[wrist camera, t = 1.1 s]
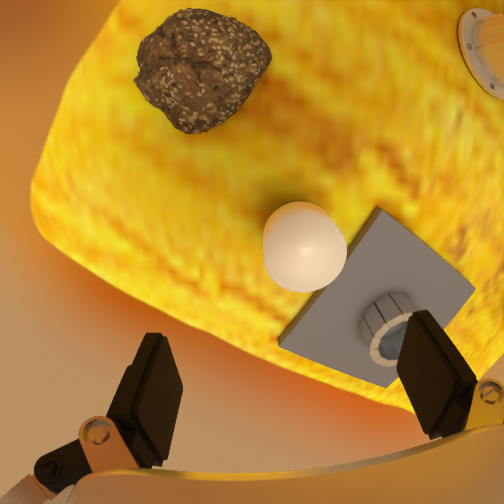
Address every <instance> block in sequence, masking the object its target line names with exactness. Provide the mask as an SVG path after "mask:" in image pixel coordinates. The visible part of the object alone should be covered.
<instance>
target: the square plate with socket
mask: <svg viewBox="0 0 504 504" xmlns="http://www.w3.org/2000/svg"><path fill="white" fill-rule="evenodd" d="M475 289H476V288H475V287H473V286H472V285H471V284H470V283H469V282H468V281H467V280H466V279H465V278H464V277H463V276H462V275H461V274H459V273H458V272H457V271H456V270H455V269H454V268H453V267H452V266H451V265H449V264H448V263H447V262H446V261H445V260H444V259H443V258H441V257H440V256H439V255H438V254H437V253H436V252H434V251H433V250H432V249H431V248H430V247H428V246H427V245H426V244H425V243H424V242H422V241H421V240H420V239H419V238H418V237H416V236H415V235H414V234H413V233H411V232H410V231H409V230H408V229H406V228H405V227H404V226H403V225H401V224H400V223H399V222H397V221H396V220H395V219H393V218H392V217H391V216H390V215H388V214H387V213H386V212H384V211H383V210H382V209H380V208H379V207H378V206H377V207H376V209H375V210H374V211H373V213H372V214H371V216H370V217H369V219H368V220H367V222H366V223H365V225H364V226H363V227H362V229H361V230H360V232H359V233H358V235H357V236H356V237H355V239H354V240H353V242H352V243H351V245H350V246H349V247H348V249H347V256H346V261H345V264H344V266H343V269H342V270H341V272H340V273H339V275H338V276H337V277H336V278H335V279H334V280H333V281H332V282H331V283H330V284H328V285H327V286H325V287H323V288H321V289H318V290H316V292H315V293H314V294H313V296H312V297H311V298H310V299H309V301H308V302H307V303H306V305H305V306H304V307H303V308H302V310H301V311H300V312H299V313H298V315H297V316H296V317H295V318H294V320H293V321H292V322H291V323H290V325H289V326H288V327H287V328H286V330H285V331H284V332H283V333H282V334H281V336H280V337H279V338H278V345H279V347H281V348H283V349H286V350H288V351H290V352H293V353H295V354H298V355H300V356H302V357H305V358H307V359H310V360H312V361H315V362H317V363H320V364H322V365H325V366H327V367H330V368H332V369H335V370H338V371H340V372H343V373H345V374H348V375H351V376H353V377H356V378H359V379H362V380H364V381H367V382H370V383H373V384H376V385H378V386H381V387H384V388H387V387H388V386H389V385H390V384H391V383H392V382H394V381H395V380H396V379H397V378H398V377H399V375H398V373H397V369H396V365H397V361H398V358H399V354H400V351H401V347H402V343H403V339H404V335H405V331H406V327H407V323H408V319H409V317H410V316H412V313H413V312H415V311H420V310H425V309H426V310H428V311H429V312H430V313H431V314H432V316H433V317H434V318H435V320H436V321H437V322H438V324H439V325H440V326H441V328H442V329H444V328H445V327H446V326H447V325H448V324H449V322H450V321H451V320H452V319H453V318H454V316H455V315H456V314H457V313H458V311H459V310H460V309H461V308H462V306H463V305H464V304H465V303H466V301H467V300H468V299H469V297H470V296H471V295H472V293H473V292H474V291H475Z"/></svg>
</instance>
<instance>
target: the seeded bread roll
mask: <svg viewBox="0 0 504 504" xmlns="http://www.w3.org/2000/svg"><path fill="white" fill-rule="evenodd" d="M136 58H137V62H138V66H139V67H140V72H138V76H137V77H136V78H135V79H134V80H133V81H134V83H135V84H136V85H137V87H138V88H139V90H140V91H141V93H142V94H143V95H144V97H145V99H146V100H147V101H148V102H149V103H150V104H152V105H153V106H154V107H155V108H159V109H160V110H161V111H162V112H164V113H165V115H166V116H167V118H168V119H169V120H170V122H171V123H172V124H173V126H174V127H175V128H176V129H179V130H180V131H182V132H185V134H192V133H194V134H199V133H201V132H207V131H208V130H209V129H210V128H212V127H215V126H218V125H220V124H221V123H223V121H224V120H227V119H228V118H229V117H230V116H232V115H233V114H234V113H235V112H236V110H238V109H239V108H240V106H241V105H242V104H243V102H244V101H245V100H246V99H247V98H248V96H249V95H250V93H251V91H252V90H253V88H254V86H255V85H256V84H257V82H258V81H259V79H260V77H261V76H262V74H263V73H264V71H265V70H266V68H267V66H268V65H269V63H270V61H271V59H272V55H271V52H270V49H269V47H268V46H267V44H266V43H265V42H264V41H263V39H262V38H261V37H260V36H259V34H258V33H257V32H256V31H255V30H252V29H251V28H250V27H249V26H246V25H245V24H244V23H240V22H238V21H237V20H236V18H234V17H230V18H228V17H227V16H223V15H221V14H217V13H215V12H212V11H209V10H205V9H204V10H203V9H191V8H188V9H187V10H181V9H180V10H179V11H178V12H176V13H174V14H173V15H171V16H169V17H167V19H166V20H165V22H164V23H163V24H162V25H161V26H159V27H157V29H156V31H154V32H153V33H152V34H150V35H148V36H147V37H145V38H144V39H143V41H142V42H141V43H140V46H139V50H138V51H137V57H136Z"/></svg>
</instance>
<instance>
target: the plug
mask: <svg viewBox="0 0 504 504" xmlns="http://www.w3.org/2000/svg"><path fill="white" fill-rule="evenodd" d="M346 256H347V246H346V241H345V238H344V236H343V234H342V232H341V231H340V229H339V228H338V227H337V225H336V224H335V223H334V222H333V220H332V219H331V218H330V216H329V215H328V214H327V213H326V212H325V211H324V210H323V209H322V208H320V207H319V206H317V205H315V204H312V203H309V202H297V201H291V202H287V203H284V204H283V205H281V206H280V207H279V208H278V209H277V210H276V211H275V212H274V213H272V215H271V216H270V217H269V218H268V220H267V222H266V224H265V226H264V230H263V257H264V264H265V268H266V270H267V272H268V274H269V276H270V277H271V278H272V280H273V281H274V282H275V283H277V284H278V285H279V286H281V287H283V288H285V289H287V290H290V291H294V292H312V291H316V290H318V289H321V288H323V287H325V286H327V285H328V284H330V283H331V282H332V281H333V280H334V279H335V278H336V277H337V276H338V275H339V273H340V272H341V270H342V269H343V266H344V264H345V261H346Z"/></svg>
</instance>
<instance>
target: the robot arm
mask: <svg viewBox="0 0 504 504" xmlns="http://www.w3.org/2000/svg"><path fill="white" fill-rule="evenodd" d="M458 37H459V43H460V48H461V51H462V54H463V57H464V59H465V62H466V64H467V66H468V68H469V70H470V71H471V73H472V75H473V76H474V78H475V79H476V81H477V82H478V83H479V84H480V86H481V87H482V88H483V89H484V90H485V91H486V92H488V93H489V94H490V95H492V96H494V97H495V98H497V99H501V100H504V12H503V13H499V14H494V13H492V12H490V11H488V10H486V9H482V8H473V9H470V10H468V11H466V12H465V13H463V15H462V16H461V18H460V21H459V25H458ZM396 369H397V373H398V375H399V378H400V380H401V382H402V384H403V386H404V388H405V391H406V393H407V395H408V397H409V399H410V402H411V404H412V406H413V408H414V411H415V413H416V415H417V418H418V420H419V422H420V424H421V427H422V429H423V432H424V433H425V434H428V435H429V438H430V440H432V439H435V438H438V437H441V436H442V439H439V440H436V441H433V442H430V443H427V444H424V445H420V446H417V447H413V448H410V449H407V450H403V451H399V452H396V453H392V454H388V455H384V456H380V457H376V458H371V459H367V460H361V461H356V462H351V463H346V464H340V465H334V466H327V467H320V468H312V469H304V470H294V471H281V472H265V473H203V472H185V471H172V470H160V469H152V466H160V467H162V463H163V460H167V459H168V455H169V450H170V445H171V441H172V437H173V432H174V427H175V423H176V419H177V414H178V409H179V405H180V401H181V396H182V392H183V385H182V381H181V378H180V376H179V373H178V370H177V367H176V364H175V361H174V358H173V355H172V352H171V348H170V345H169V342H168V339H167V337H165V336H163V335H162V334H161V333H146V334H145V336H144V338H143V341H142V343H141V345H140V347H139V349H138V351H137V354H136V356H135V358H134V360H133V363H132V365H129V366H128V367H127V369H126V371H125V373H124V375H123V377H122V380H121V382H120V384H119V386H118V389H117V391H116V394H115V396H114V398H113V401H112V403H111V405H110V408H109V410H108V413H107V415H106V417H104V416H95V417H92V418H89V419H88V420H86V421H85V422H84V423H83V424H82V425H81V427H80V429H79V433H78V435H79V439H77V440H75V441H73V442H71V443H69V444H66V445H64V446H62V447H60V448H58V449H56V450H54V451H52V452H50V453H47V454H45V455H43V456H42V457H40V458H39V459H38V460H37V462H36V464H35V466H34V474H33V475H32V476H31V475H30V474H28V475H27V476H26V477H25V478H23V479H22V480H21V481H20V482H19V483H17V484H16V485H15V486H14V487H13V488H12V489H10V490H9V491H8V492H7V493H6V494H5V495H3V496H2V498H1V499H0V504H504V386H503V385H502V384H501V383H500V382H499V381H497V380H494V379H489V378H487V379H483V380H481V381H479V382H478V381H477V379H476V376H475V374H474V373H473V371H472V370H471V368H470V367H469V365H468V364H467V362H466V361H465V359H464V358H463V357H462V355H461V354H460V352H459V351H458V349H457V348H456V347H455V345H454V344H453V342H452V341H451V340H450V338H449V337H448V336H447V334H446V333H445V332H444V330H443V329H442V328H441V326H440V325H439V324H438V322H437V321H436V320H435V318H434V317H433V316H432V314H431V313H430V312H429V311H428V310H426V309H425V310H420V311H415V312H413V313H412V316H410V317H409V319H408V323H407V327H406V331H405V335H404V339H403V343H402V347H401V351H400V354H399V358H398V361H397V365H396Z"/></svg>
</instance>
